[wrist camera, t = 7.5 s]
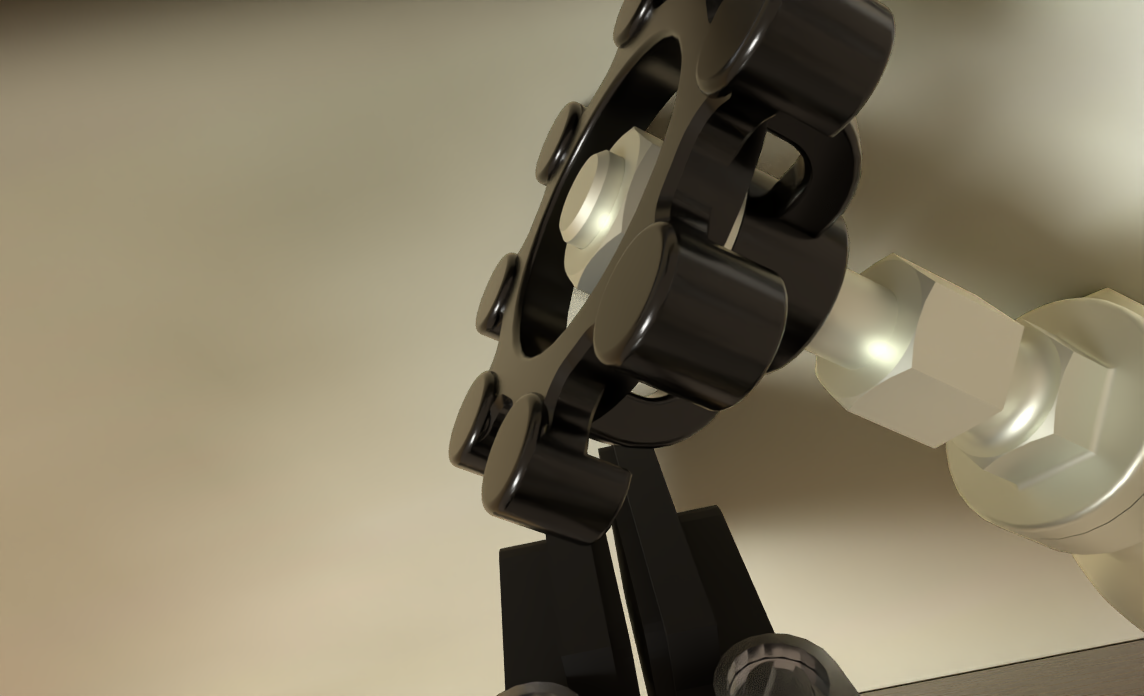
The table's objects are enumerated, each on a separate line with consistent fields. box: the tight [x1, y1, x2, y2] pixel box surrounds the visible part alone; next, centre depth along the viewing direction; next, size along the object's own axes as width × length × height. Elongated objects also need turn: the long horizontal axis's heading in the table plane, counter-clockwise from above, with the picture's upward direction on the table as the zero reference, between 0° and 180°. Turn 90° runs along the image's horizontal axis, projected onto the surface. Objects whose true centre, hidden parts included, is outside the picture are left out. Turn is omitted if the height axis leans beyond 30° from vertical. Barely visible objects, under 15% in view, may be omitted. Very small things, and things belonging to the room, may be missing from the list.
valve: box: [449, 0, 1144, 632], centre depth 10 cm, size 7×7×12 cm
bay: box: [859, 640, 1144, 696], centre depth 12 cm, size 28×17×3 cm, turn 99°
